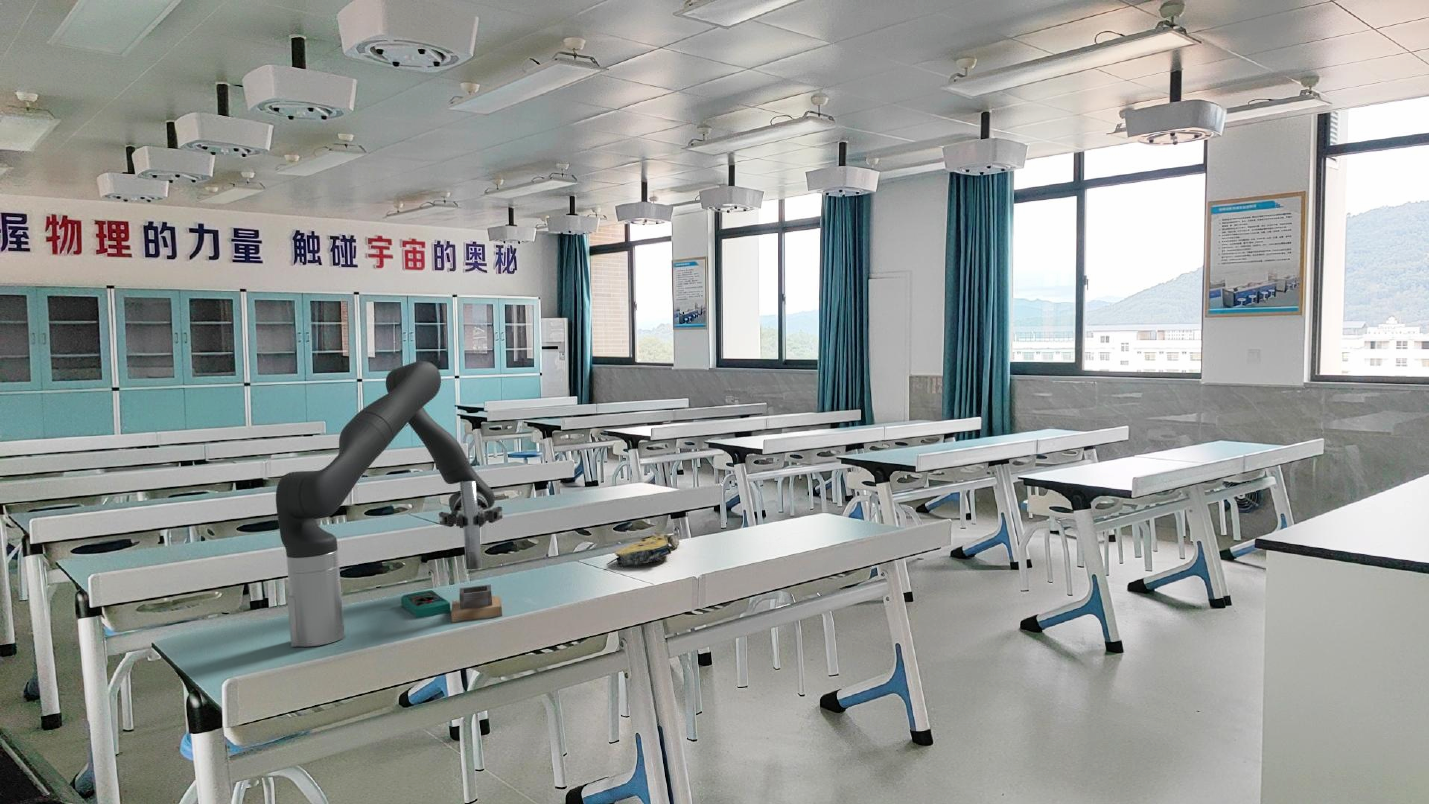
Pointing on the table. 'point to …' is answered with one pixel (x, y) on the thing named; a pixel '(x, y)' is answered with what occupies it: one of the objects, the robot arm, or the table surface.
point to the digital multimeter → (425, 603)
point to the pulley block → (646, 550)
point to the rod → (471, 525)
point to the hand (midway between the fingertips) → (470, 522)
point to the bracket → (476, 604)
